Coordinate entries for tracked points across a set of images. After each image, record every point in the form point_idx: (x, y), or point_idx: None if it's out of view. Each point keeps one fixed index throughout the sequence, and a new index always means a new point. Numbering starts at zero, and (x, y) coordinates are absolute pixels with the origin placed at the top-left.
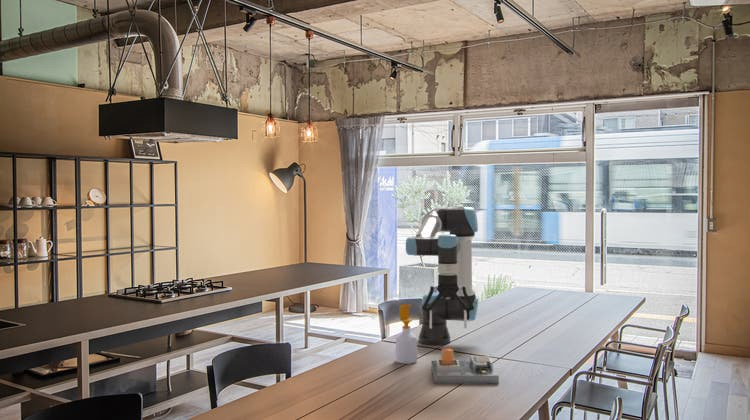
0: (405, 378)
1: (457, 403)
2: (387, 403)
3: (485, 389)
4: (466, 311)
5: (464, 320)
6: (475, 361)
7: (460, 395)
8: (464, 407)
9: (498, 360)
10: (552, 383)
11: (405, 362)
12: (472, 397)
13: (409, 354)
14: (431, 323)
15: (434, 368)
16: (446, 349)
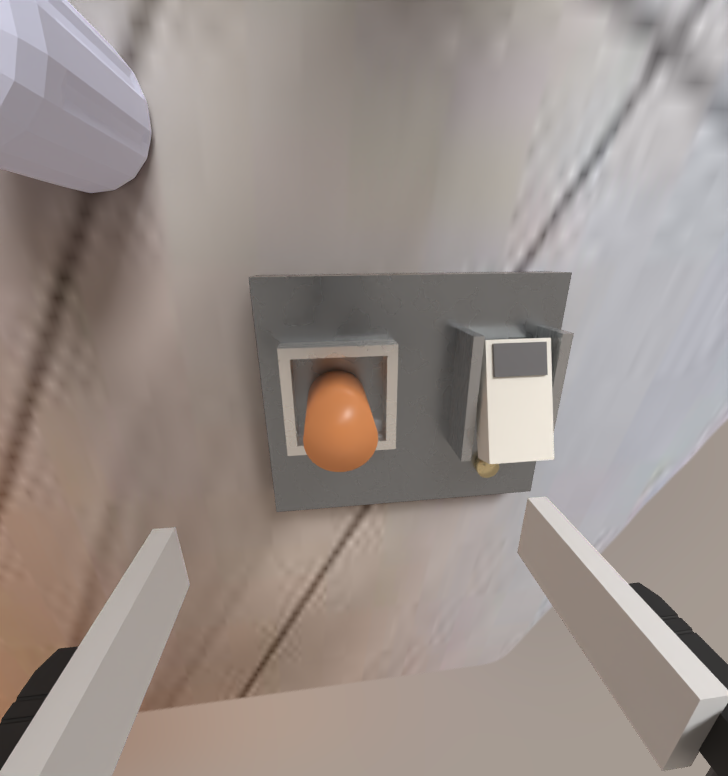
0: (148, 440)
1: (351, 633)
2: None
3: (454, 528)
4: (701, 750)
5: (569, 596)
6: (477, 427)
7: (366, 581)
8: (367, 652)
9: (637, 114)
10: (688, 457)
11: (83, 191)
12: (400, 591)
13: (77, 179)
14: (163, 639)
15: (272, 418)
16: (335, 434)
